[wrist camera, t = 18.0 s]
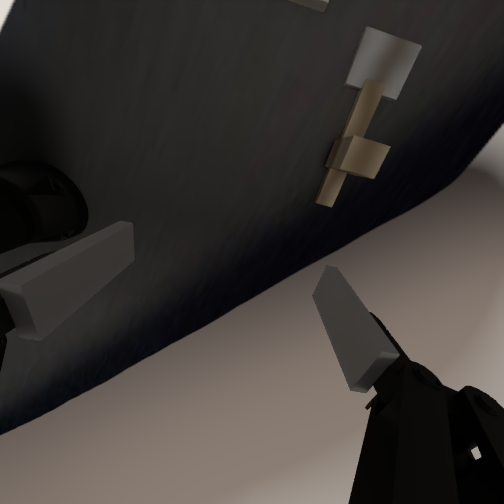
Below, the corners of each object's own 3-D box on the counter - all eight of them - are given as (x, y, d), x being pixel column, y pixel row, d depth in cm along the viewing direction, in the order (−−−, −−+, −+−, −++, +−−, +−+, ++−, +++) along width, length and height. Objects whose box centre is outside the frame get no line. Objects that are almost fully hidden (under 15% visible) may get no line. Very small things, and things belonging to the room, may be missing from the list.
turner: (301, 197, 36) (312, 208, 29) (363, 30, 26) (404, -21, 19) (341, 208, 37) (362, 222, 29) (416, 49, 27) (477, 7, 19)
